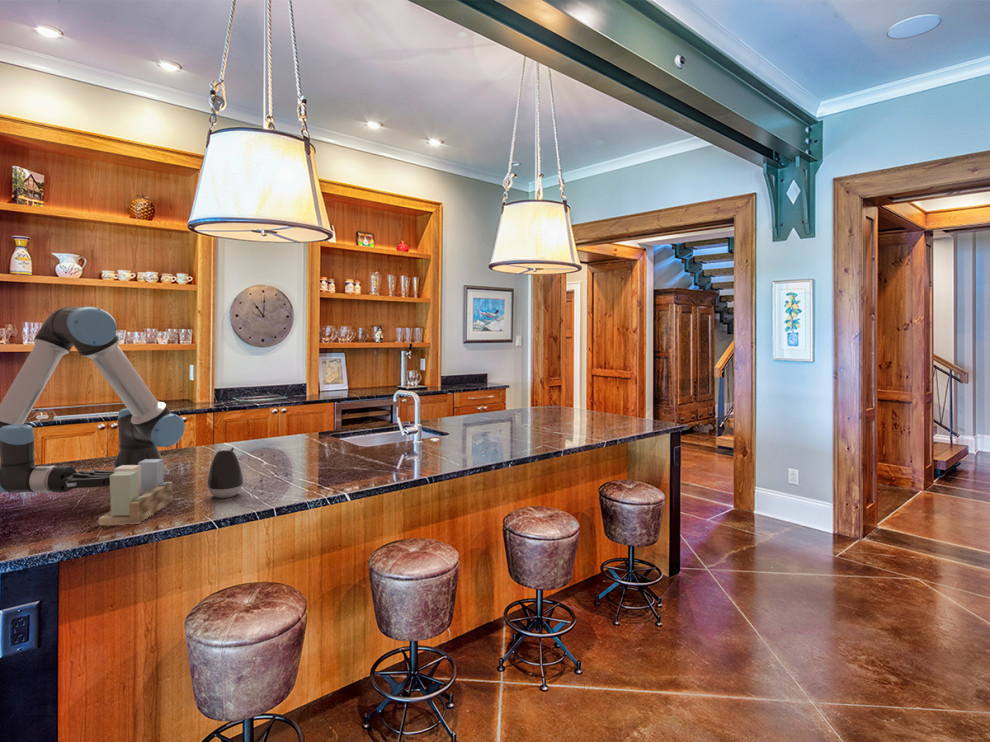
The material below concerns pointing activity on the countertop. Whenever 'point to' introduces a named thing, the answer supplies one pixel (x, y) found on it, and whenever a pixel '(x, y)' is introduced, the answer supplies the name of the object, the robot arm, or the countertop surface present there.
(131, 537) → the countertop surface
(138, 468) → the cream rectangular block
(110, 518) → the wooden key holder base
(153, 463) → the slate key
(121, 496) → the pale green tall block
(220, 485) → the pump dispenser
